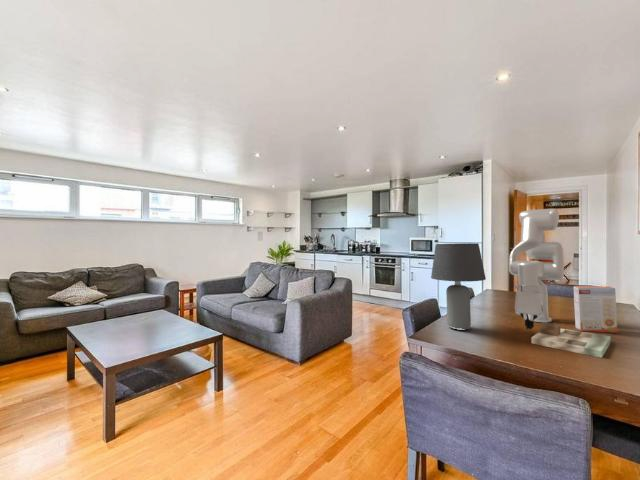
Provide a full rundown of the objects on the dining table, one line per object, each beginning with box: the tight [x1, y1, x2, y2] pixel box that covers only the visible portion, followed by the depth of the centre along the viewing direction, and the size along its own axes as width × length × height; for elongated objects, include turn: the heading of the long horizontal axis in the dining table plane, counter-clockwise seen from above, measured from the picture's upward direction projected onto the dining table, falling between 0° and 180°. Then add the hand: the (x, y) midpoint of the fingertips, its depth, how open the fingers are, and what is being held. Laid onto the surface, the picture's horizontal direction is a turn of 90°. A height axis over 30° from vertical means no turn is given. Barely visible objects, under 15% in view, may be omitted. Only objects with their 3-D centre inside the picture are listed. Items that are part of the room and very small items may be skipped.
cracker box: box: [573, 285, 618, 334], centre depth 142 cm, size 14×6×21 cm, turn 71°
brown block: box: [539, 322, 561, 336], centre depth 132 cm, size 6×6×4 cm
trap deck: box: [530, 327, 612, 359], centre depth 127 cm, size 22×24×2 cm
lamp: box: [430, 242, 487, 330], centre depth 151 cm, size 25×25×43 cm
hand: (529, 328), depth 138 cm, fingers closed
